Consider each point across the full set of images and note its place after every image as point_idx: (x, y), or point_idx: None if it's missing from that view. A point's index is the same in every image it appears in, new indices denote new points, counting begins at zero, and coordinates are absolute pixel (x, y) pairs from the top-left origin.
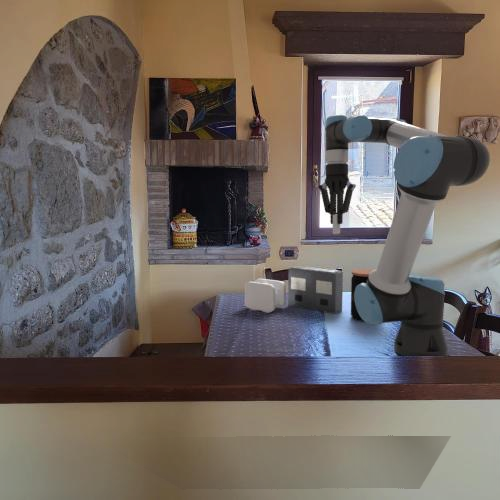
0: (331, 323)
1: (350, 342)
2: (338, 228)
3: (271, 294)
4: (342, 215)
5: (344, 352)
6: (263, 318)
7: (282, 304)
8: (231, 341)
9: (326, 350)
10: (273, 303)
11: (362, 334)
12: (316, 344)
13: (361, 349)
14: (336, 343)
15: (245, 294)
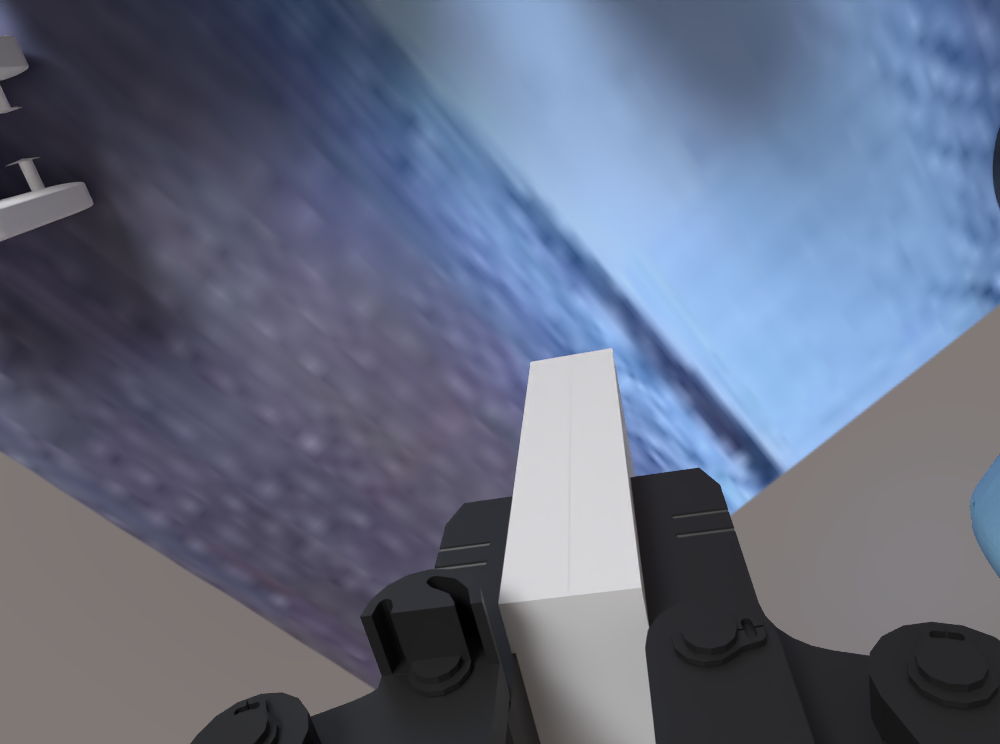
0: (480, 77)
1: (762, 279)
2: (629, 460)
3: (21, 233)
4: (762, 613)
5: (811, 405)
6: (161, 304)
7: (19, 71)
8: None
9: (734, 439)
10: (70, 211)
11: (745, 117)
12: (653, 413)
13: (857, 322)
14: (716, 339)
15: None
